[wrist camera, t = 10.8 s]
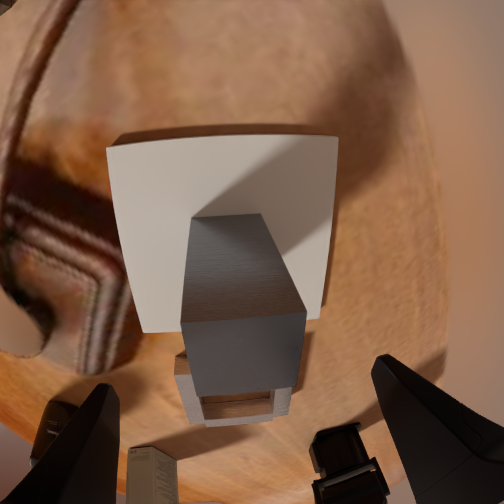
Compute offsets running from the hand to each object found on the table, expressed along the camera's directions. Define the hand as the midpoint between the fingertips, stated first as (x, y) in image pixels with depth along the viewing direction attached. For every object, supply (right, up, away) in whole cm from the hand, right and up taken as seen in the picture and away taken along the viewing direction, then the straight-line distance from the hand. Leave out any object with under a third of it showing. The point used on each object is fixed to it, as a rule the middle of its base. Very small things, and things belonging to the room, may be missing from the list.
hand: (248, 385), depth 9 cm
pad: (-2, +5, +10) cm, 11 cm away
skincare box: (-13, -23, +23) cm, 35 cm away
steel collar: (-1, -8, +16) cm, 18 cm away
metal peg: (-1, +5, +9) cm, 10 cm away
